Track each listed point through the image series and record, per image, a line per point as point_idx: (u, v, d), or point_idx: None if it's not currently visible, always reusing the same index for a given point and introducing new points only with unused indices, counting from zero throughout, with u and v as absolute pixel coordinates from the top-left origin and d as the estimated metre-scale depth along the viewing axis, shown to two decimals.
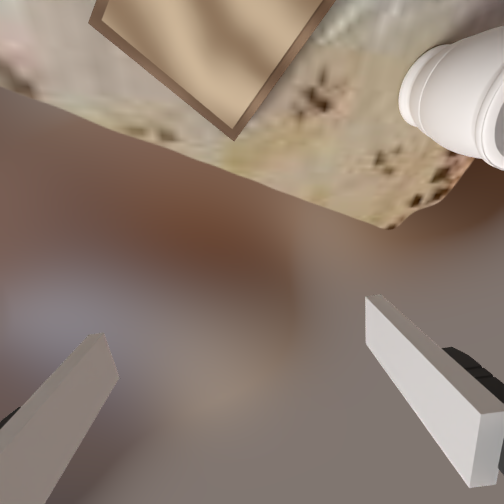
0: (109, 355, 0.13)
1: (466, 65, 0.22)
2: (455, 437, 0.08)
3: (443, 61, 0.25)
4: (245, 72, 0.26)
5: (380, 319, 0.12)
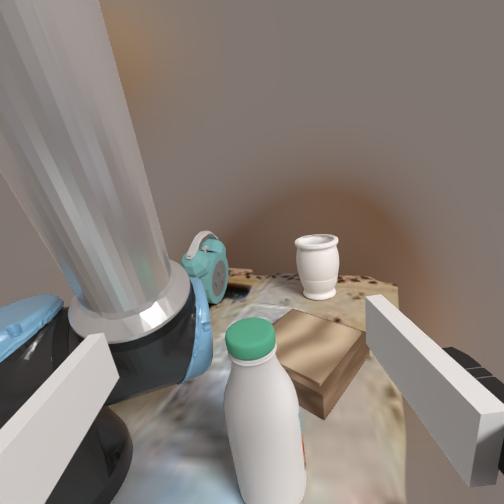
0: (109, 355, 0.13)
1: (310, 264, 0.63)
2: (455, 437, 0.08)
3: (309, 278, 0.65)
4: (329, 328, 0.47)
5: (380, 319, 0.12)
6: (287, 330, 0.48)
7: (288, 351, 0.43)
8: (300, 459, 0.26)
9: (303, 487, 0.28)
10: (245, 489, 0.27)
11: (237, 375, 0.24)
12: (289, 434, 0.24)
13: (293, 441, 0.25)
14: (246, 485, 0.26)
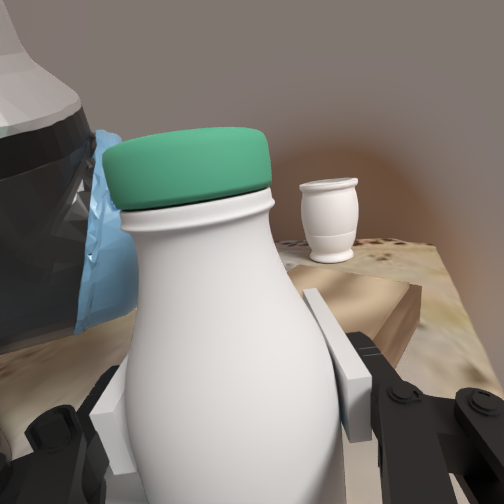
0: None
1: (320, 212, 0.47)
2: (342, 402, 0.09)
3: (319, 232, 0.48)
4: (356, 281, 0.31)
5: (309, 309, 0.13)
6: None
7: None
8: None
9: None
10: None
11: (144, 284, 0.07)
12: (318, 476, 0.08)
13: (330, 496, 0.08)
14: None
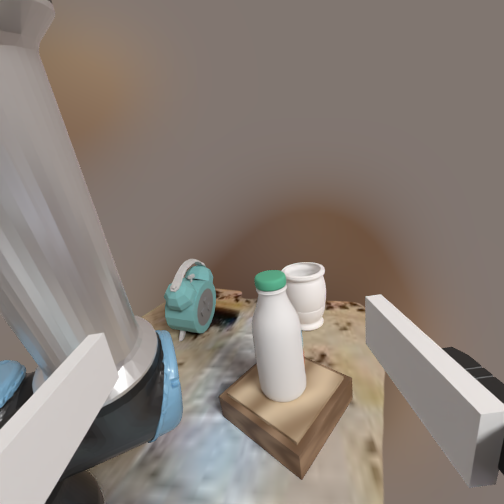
0: (109, 355, 0.13)
1: (296, 296, 0.62)
2: (455, 437, 0.08)
3: (296, 309, 0.64)
4: (311, 371, 0.46)
5: (380, 319, 0.12)
6: None
7: (268, 400, 0.42)
8: (302, 362, 0.41)
9: (304, 383, 0.42)
10: (266, 382, 0.41)
11: (262, 303, 0.38)
12: (295, 341, 0.39)
13: (298, 347, 0.39)
14: (266, 378, 0.40)
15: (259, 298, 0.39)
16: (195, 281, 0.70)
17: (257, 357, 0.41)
